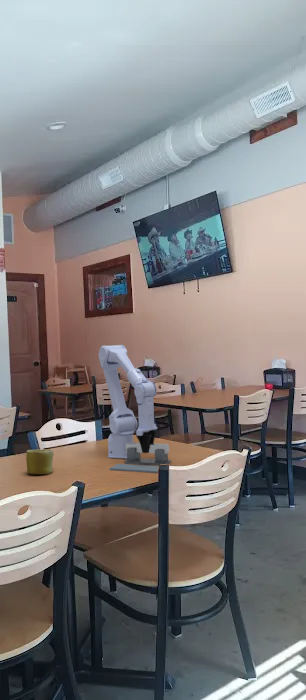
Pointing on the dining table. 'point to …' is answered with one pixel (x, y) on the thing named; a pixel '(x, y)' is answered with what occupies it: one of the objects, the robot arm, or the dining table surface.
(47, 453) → the mug
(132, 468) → the mat
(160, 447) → the rail
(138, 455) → the rack
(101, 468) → the dining table surface
